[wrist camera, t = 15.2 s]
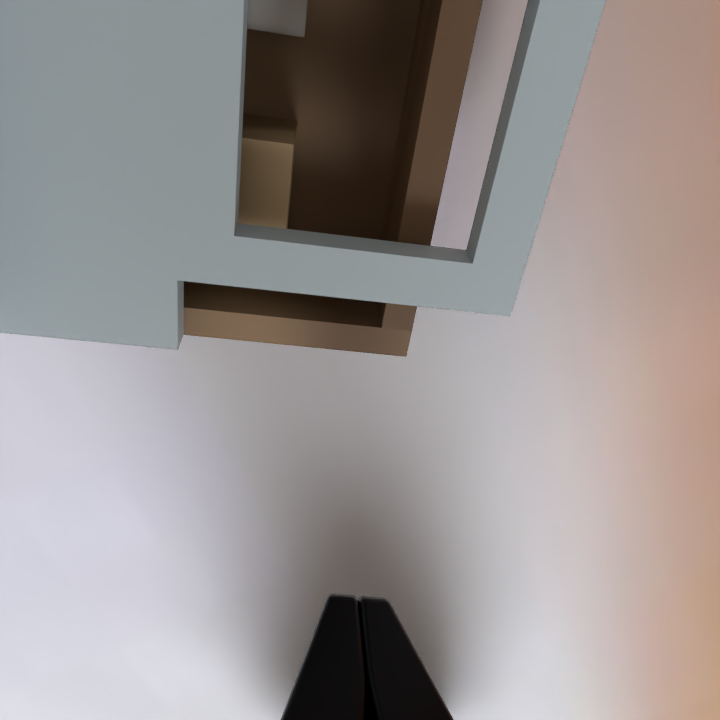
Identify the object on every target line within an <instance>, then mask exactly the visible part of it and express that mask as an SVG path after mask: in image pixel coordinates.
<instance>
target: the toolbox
mask: <svg viewBox="0 0 720 720" xmlns="http://www.w3.org/2000/svg"><path fill="white" fill-rule="evenodd" d="M482 1H483V0H248V17H247V39H246V61H245V83H244V105H243V127H242V149H241V171H240V193H239V215H238V223H242V224H250V225H259V226H267V227H276V228H284V229H292V230H301V231H309V232H318V233H326V234H334V235H343V236H351V237H360V238H368V239H376V240H385V241H393V242H402V243H410V244H418V245H427V246H430V243H431V239H432V234H433V229H434V225H435V220H436V215H437V211H438V206H439V201H440V197H441V192H442V187H443V183H444V178H445V173H446V169H447V164H448V159H449V155H450V150H451V145H452V141H453V136H454V131H455V127H456V122H457V117H458V113H459V108H460V103H461V99H462V94H463V89H464V85H465V80H466V75H467V71H468V66H469V61H470V57H471V52H472V47H473V43H474V38H475V33H476V29H477V24H478V19H479V15H480V10H481V5H482ZM416 309H417V306H411V305H401V304H392V303H383V302H374V301H364V300H355V299H346V298H336V297H327V296H318V295H309V294H299V293H290V292H281V291H272V290H262V289H253V288H244V287H235V286H225V285H216V284H207V283H198V282H188V281H184V334H183V335H193V336H203V337H213V338H223V339H233V340H243V341H254V342H264V343H274V344H284V345H294V346H304V347H314V348H324V349H335V350H345V351H355V352H365V353H375V354H385V355H395V356H405V357H406V355H407V351H408V346H409V341H410V337H411V332H412V327H413V323H414V318H415V313H416Z"/></svg>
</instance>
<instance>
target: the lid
mask: <svg viewBox="0 0 720 720" xmlns="http://www.w3.org/2000/svg"><path fill="white" fill-rule="evenodd" d="M605 2H606V0H528V3H527V7H526V12H525V16H524V20H523V24H522V28H521V32H520V36H519V40H518V44H517V48H516V52H515V56H514V60H513V64H512V68H511V72H510V76H509V80H508V84H507V88H506V92H505V96H504V101H503V105H502V109H501V113H500V117H499V121H498V125H497V129H496V133H495V137H494V141H493V145H492V149H491V153H490V157H489V161H488V165H487V169H486V173H485V177H484V181H483V185H482V189H481V194H480V198H479V202H478V206H477V210H476V214H475V218H474V222H473V226H472V230H471V234H470V238H469V242H468V246H467V250H460V249H452V248H444V247H435V246H427V245H418V244H410V243H402V242H393V241H385V240H376V239H368V238H360V237H351V236H343V235H334V234H326V233H318V232H309V231H301V230H292V229H284V228H276V227H267V226H259V225H250V224H242V223H238V215H239V193H240V171H241V149H242V127H243V105H244V83H245V61H246V39H247V17H248V0H0V333H9V334H20V335H30V336H41V337H51V338H61V339H72V340H82V341H93V342H103V343H113V344H124V345H134V346H145V347H155V348H165V349H176V350H178V348H179V345H180V342H181V339H182V337H183V334H184V281H188V282H198V283H207V284H216V285H225V286H235V287H244V288H253V289H262V290H272V291H281V292H290V293H299V294H309V295H318V296H327V297H336V298H346V299H355V300H364V301H374V302H383V303H392V304H401V305H411V306H420V307H429V308H438V309H448V310H457V311H466V312H475V313H485V314H494V315H503V316H510V315H511V312H512V309H513V305H514V302H515V299H516V295H517V292H518V289H519V286H520V282H521V279H522V276H523V272H524V269H525V266H526V262H527V259H528V256H529V253H530V249H531V246H532V243H533V239H534V236H535V233H536V229H537V226H538V223H539V220H540V216H541V213H542V210H543V206H544V203H545V200H546V196H547V193H548V190H549V187H550V183H551V180H552V177H553V173H554V170H555V167H556V164H557V160H558V157H559V154H560V150H561V147H562V144H563V140H564V137H565V134H566V131H567V127H568V124H569V121H570V117H571V114H572V111H573V107H574V104H575V101H576V98H577V94H578V91H579V88H580V84H581V81H582V78H583V74H584V71H585V68H586V65H587V61H588V58H589V55H590V51H591V48H592V45H593V41H594V38H595V35H596V32H597V28H598V25H599V22H600V18H601V15H602V12H603V9H604V5H605Z"/></svg>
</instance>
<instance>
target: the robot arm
mask: <svg viewBox="0 0 720 720" xmlns="http://www.w3.org/2000/svg"><path fill="white" fill-rule="evenodd" d="M281 720H453V718H452V716H451V714H450V712H449V710H448V709H447V707H446V705H445V703H444V701H443V699H442V698H441V696H440V694H439V692H438V690H437V688H436V687H435V685H434V683H433V681H432V679H431V677H430V675H429V674H428V672H427V670H426V668H425V666H424V664H423V663H422V661H421V659H420V657H419V655H418V653H417V652H416V650H415V648H414V646H413V644H412V642H411V641H410V639H409V637H408V635H407V633H406V631H405V630H404V628H403V626H402V624H401V622H400V620H399V619H398V617H397V615H396V613H395V611H394V609H393V607H392V606H391V604H390V602H389V601H388V600H387V599H385V598H381V597H368V596H361V597H359V599H358V600H357V598H356V597H355V596H353V595H343V594H330V595H329V596H328V598H327V600H326V602H325V605H324V608H323V610H322V613H321V615H320V618H319V621H318V623H317V626H316V629H315V631H314V634H313V636H312V639H311V642H310V644H309V647H308V650H307V652H306V655H305V658H304V660H303V663H302V665H301V668H300V671H299V673H298V676H297V679H296V681H295V684H294V686H293V689H292V692H291V694H290V697H289V700H288V702H287V705H286V707H285V710H284V713H283V715H282V718H281Z"/></svg>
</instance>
